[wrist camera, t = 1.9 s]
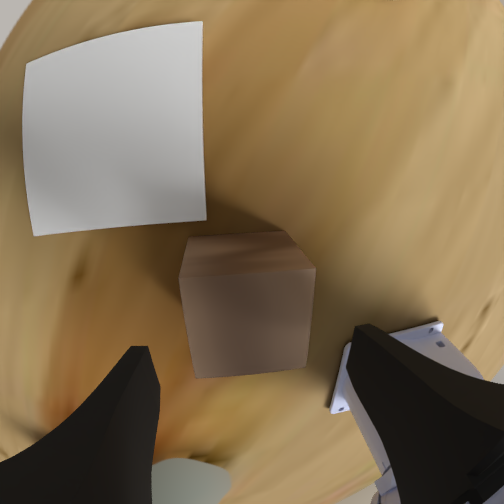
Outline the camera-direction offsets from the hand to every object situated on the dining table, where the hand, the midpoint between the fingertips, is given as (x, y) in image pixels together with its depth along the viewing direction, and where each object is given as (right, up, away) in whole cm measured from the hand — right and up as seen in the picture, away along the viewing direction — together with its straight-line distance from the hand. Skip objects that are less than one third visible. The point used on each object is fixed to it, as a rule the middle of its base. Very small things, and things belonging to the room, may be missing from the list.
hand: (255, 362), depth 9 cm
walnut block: (-1, +2, +6) cm, 7 cm away
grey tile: (-7, +10, +3) cm, 13 cm away
